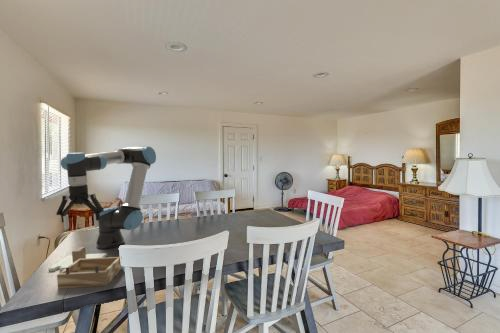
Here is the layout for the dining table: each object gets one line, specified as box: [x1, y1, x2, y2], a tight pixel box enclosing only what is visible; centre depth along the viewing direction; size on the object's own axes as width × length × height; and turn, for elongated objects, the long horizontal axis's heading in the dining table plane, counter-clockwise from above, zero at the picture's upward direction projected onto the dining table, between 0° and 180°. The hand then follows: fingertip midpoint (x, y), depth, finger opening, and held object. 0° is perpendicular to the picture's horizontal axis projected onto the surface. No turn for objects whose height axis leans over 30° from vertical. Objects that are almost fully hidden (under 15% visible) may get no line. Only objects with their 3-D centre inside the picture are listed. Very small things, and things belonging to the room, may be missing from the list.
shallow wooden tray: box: [56, 256, 123, 289], centre depth 117 cm, size 16×20×8 cm
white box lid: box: [48, 246, 108, 272], centre depth 133 cm, size 16×20×8 cm
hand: (81, 227), depth 125 cm, fingers open, 13 cm apart
